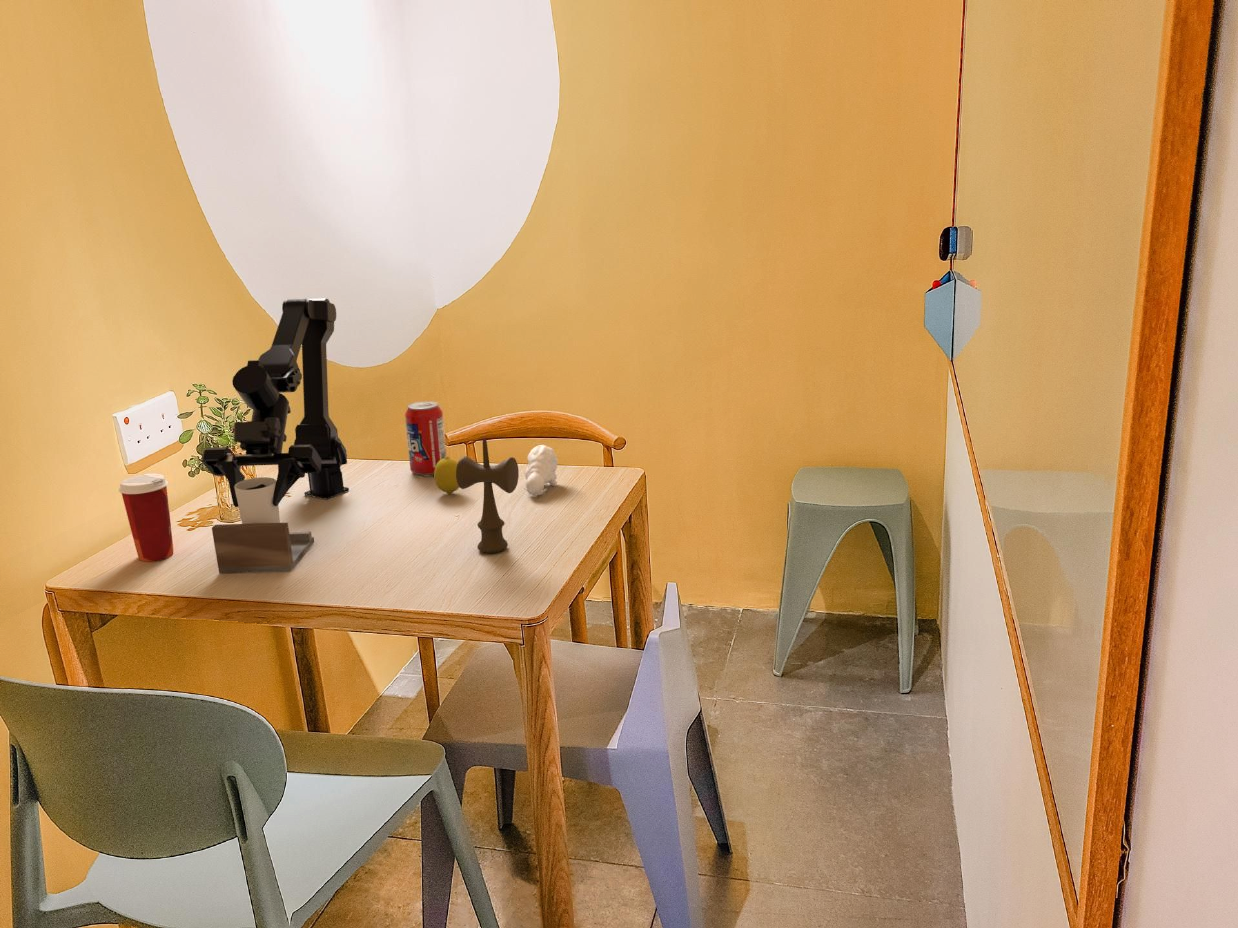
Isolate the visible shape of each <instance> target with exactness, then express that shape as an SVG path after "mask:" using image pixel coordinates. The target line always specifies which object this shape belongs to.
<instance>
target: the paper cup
mask: <svg viewBox="0 0 1238 928" xmlns="http://www.w3.org/2000/svg"><path fill="white" fill-rule="evenodd" d="M168 485H169V482H168V480H166V477H165V476H164V474H160V473H144V474H143V473H142V474H138V475H137V474H136V475H132V476H130V477H127V478H125V479H123V480H122V481H121V482H120V486H119V488H118V493H121V496H122V500H123V504H124V507H125V511H126V516H127V519H128V524H129V527H130V531H131V534H132V535H131V536H132V539H133V542H134V547H135V551H136V554H137V556H138V559H139V561H141V562H144V563H146V562H147V563H154V562H159V561H163V560H166V559H168V558H170V557H172V556H173V555H174V543H173V534H172V533H173V532H172V522H171V516H170V515H171V514H170V507H169V506H170V505H169V497H168V489H167V486H168Z"/></svg>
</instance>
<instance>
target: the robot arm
mask: <svg viewBox="0 0 1238 928" xmlns="http://www.w3.org/2000/svg"><path fill="white" fill-rule="evenodd" d="M335 305H336V304H334V303H332V302H330V299H328V298H288V299H286V300H283V301H282V308H281V310H282V313H281V316H280V320H279V323H278V326H277V329H276V332H275V334H274V337H273V339H272V342H271V346H270V348H269V349H268V350H267V351H265V352H263V353H262V354H260V355H259V357H258V359H257V360H256V359H255V360H254V359H253V360H247V365H246V366H243V367H242V368H241V367H240V369H238V371H237V372H236V373H235V374H234V376H232V382H231V383H232V386H233V388H234V389H235V391H236V392H237V394H238V395H239V397H240V398H241V399H242V401H243V402H244V403H245V405H246V406H247V407H248V408H249V409H251V410H252V414H251V418H250V419H251V420H250V421H249V420H248V421H240V422H239V421H236V422H234V425H233V442H234V443H237V442H238V443H240V444H239V448H240V449H241V451H245V454H241V453H240V454H235V453H233V452H232V451H231V450H230V449H229V447H228V446H227V447H226V446H224V447H222V446H221V447H220V446H218V447H207V448H205V449H204V451H202V454H201V458H200V459H201V460H200V461H201V463H202V464H203V466H205V467H206V469H207V470H208V471H209V472H210V474H212V475H213V476H216V477H225V478H226V479H227V482H228V485H229V490H230V495H231V501H232V504H233V506H234V507H235V508H239V507H238V502H237V497H236V493H235V488H234V487H235V484H237V483H238V482H241V481H243V480H246V477H245V476H246V475H244V474H243V473H242V471H241V469H242V467H245V466H246V467H250V466H277V470H278V471H277V472H278V473H277V477H276V485H275V490H274V495H273V505H274V506H277V505H279V504H280V503H281V501H282V500H283V498H284V497H285V495H286V494H287V493H288V492H289V490H290V489H291V488H292V486H294V485H295V483H297V481H298V480H299V479H301V478H305V475H306V474H307V477H308V485H309V490H307V491H305V492H303V494H304V495H305V496H308V497H313V498H319V499H324V500H327V499H330V498H334V497H335V496H338V495H340V494H343V493H346V492H348V491H349V490H350V489H349V487H347V486H344V478H343V471H342V470H341V467H342V466H343V465H347V464H348V454H347V449H346V447H345V445H344V444H343V441H342V440H341V439H340V437H339V432H338V428H337V427H336V425H335V424H334V422H333V421H332V419H331V418H330V415H329V390H328V389H329V387H328V362H327V361H328V359H327V357H328V356H327V343H328V342H329V340H330V338H331V336H332V335H333V333H334V331H335V322H336V321H337V308H336V306H335ZM300 351H301V359H302V361H301V362H302V363H301V364H302V372H301V369H300V366H299V365H298V362H297V361H298V356H299V355H300V354H299V353H300ZM301 380H302V382H301ZM301 383H302V386H303V387H302V391H303V417H302V420H301V421H300V423H299V424H296V426H295V428H294V431H295V439H294V442H293V444H291V445H290V446H288V452H284V453H283V445H284V442H285V443H286V442H287V435H286V427H287V419H288V414H291V413H292V412H291V411H292V410H291V407H290V401H289V400H288V398H287V397H286V396H285V395H284V394H283V393H295V392H296V391H297V390H298V387H299V386H300V385H301Z"/></svg>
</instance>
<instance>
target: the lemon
mask: <svg viewBox="0 0 1238 928" xmlns="http://www.w3.org/2000/svg"><path fill="white" fill-rule="evenodd" d="M458 462H459V461H457V460H456V459H454V458H452V457H449V456H447V455H446V457H445V458H443V459H441V460H440V461H439V462H438V463H437V465H436V467H435V471H434V475H433V477H434V482H435V485H436V486H437V488H438V490H440V491H441V492H444V493H446V494H447V495H449V496H450V495H453V493H454V492H455V491H457V490H458V489H459V486H458V484H457V480H456V468H457V464H458Z"/></svg>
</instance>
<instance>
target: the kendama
mask: <svg viewBox="0 0 1238 928" xmlns="http://www.w3.org/2000/svg"><path fill="white" fill-rule="evenodd" d="M489 456H490V455H489V449H488V442H487V437H482V461H483V462H482V464H481V463H479V462H477V461H475V460H473V458H470V457H469V456H467V455H465V456H461V458H459V460H458V461H457V462H458V464H457V468H456V480H457V484H458V486H459V488H460V489H461V490H465V489H468V488H470V487H472V486H474V485H475V484H479V483H483V502H482V512H481V513H482V514H481V519H480V520H479V521H478V522H477V527H478V529H480V533H481V538H480V539H481V540H480V542H479V543H478V544H477V547H476V548H477V550H478V551H480V552H482V553H488V554H490V553H491V554H495V553H499V552H503V551H505V549H507V547H508V545H509V543H508V541H507V540H506V539H505V537H504V535H503V527H504V526H505V521H504V520H503V519H501V517H500V516H499V512H498V508H497V505H496V498H495V494H494V490H493V488H494V487H493V485H495V486H497V487H498V488H500V489H501V490H502V491H503V492H505V493H507V494H511V493H513V492H514V491H515V490H516V489H517V486H518V482H519V475H520V474H519V464H518V461H517V459H516V458H515V457H513V456H511V457H507V458H506V459H505V460H503V461H501V462H500V463H498V464H495V465H490V457H489ZM459 488H458V489H459Z"/></svg>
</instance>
